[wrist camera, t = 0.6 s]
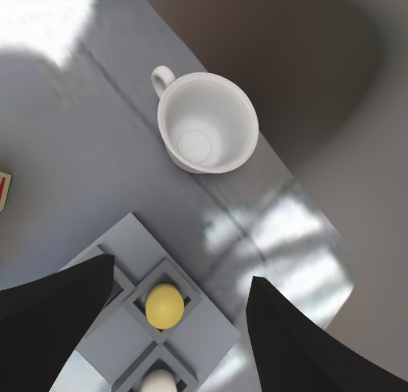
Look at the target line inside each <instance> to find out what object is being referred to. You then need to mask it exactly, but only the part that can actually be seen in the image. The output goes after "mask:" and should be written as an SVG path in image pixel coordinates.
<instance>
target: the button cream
mask: <svg viewBox="0 0 408 392" xmlns="http://www.w3.org/2000/svg"><path fill="white" fill-rule="evenodd" d="M139 392H177V388H176V384H175V380H174V377H173V375H172V374H171V373H170V372H169V371H167V370H164V369H158V370H154V371H152V372H150V373H149V374H148V375H147V376H146V377H145V378H144V379H143V380H142V382H141V384H140V387H139Z"/></svg>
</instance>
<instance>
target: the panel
mask: <svg viewBox="0 0 408 392" xmlns="http://www.w3.org/2000/svg"><path fill="white" fill-rule="evenodd" d="M100 254H110V255H115V262H114V277H113V291H112V292H111V294H110V296H109V298H108V301H107V303H106V305H105V307H104V308H103V310H102V311H101V312H100V314H99V315H98V317H97V318H96V319H95V321H94V322H93V324H92V325H91V327H90V328H89V329H88V331H87V332H86V334H85V335H84V337H83V338H82V339H81V341H80V342H79V344H78V345H77V346H76V348H75V349H76V350H77V351H78V352H79V353H80V354H81V355H82V356H83V357H84V358H85V359H86V360H87V361H88V362H89V363H90V364H91V365H92V366H93V367H94V368H95V369H96V370H97V371H98V372H99V373H100V374H101V375H102V376H103V377H104V378H105V379H106V380H107V381H108V382H109V383H110V384H111V385H112V391H111V392H139V387H140V384H141V382H142V380H143V379H144V378H145V377H146V376H147V375H148V374H149V373H150V372H152V371H154V370H158V369H164V370H167V371H169V372H170V373H171V374H172V375H173V377H174V380H175V384H176V388H177V392H197V390H198V389H199V388H200V387H201V385H202V384H203V383H204V381H205V380H206V379H207V378H208V376H209V375H210V374H211V373H212V371H213V370H214V369H215V368H216V366H217V365H218V364H219V363H220V361H221V360H222V359H223V357H224V356H225V355H226V354H227V352H228V351H229V350H230V349H231V347H232V346H233V345H234V344H235V342H236V341H237V340H238V339H239V337H240V336H241V334H240V332H239V331H238V330H237V329H236V328H235V327H234V326H233V325H232V324H231V323H230V321H229V320H228V319H227V318H226V317H225V316H224V315H223V314H222V313H221V311H220V310H219V309H218V308H217V307H216V306H215V305H214V304H213V303H212V302H211V300H210V299H209V298H208V297H207V296H206V295H205V294H204V293H203V292H202V290H201V289H200V288H199V287H198V286H197V285H196V284H195V283H194V282H193V280H192V279H191V278H190V277H189V276H188V275H187V274H186V273H185V272H184V271H183V269H182V268H181V267H180V266H179V265H178V264H177V263H176V262H175V261H174V259H173V258H172V257H171V256H170V255H169V254H168V253H167V252H166V251H165V249H164V248H163V247H162V246H161V245H160V244H159V243H158V242H157V241H156V240H155V238H154V237H153V236H152V235H151V234H150V233H149V232H148V231H147V230H146V228H145V227H144V226H143V225H142V224H141V223H140V222H139V221H138V220H137V219H136V217H135V216H134V215H133V214H132V213H131V212H130V213H129V214H127V215H126V216H125V217H124V218H122V219H121V220H120V221H119V222H118V223H116V224H115V225H114V226H113V227H111V228H110V229H109V230H108V231H107V232H105V233H104V234H103V235H102V236H101V237H99V238H98V239H97V240H96V241H94V242H93V243H92V244H91V245H90V246H88V247H87V248H86V249H85V250H83V251H82V252H81V253H80V254H79V255H77V256H76V257H75V258H74V259H72V260H71V261H70V262H69V263H68V264H66V265H65V266H64V267H63V268H61V269H60V270H59V271H62V270H65V269H67V268H69V267H72V266H74V265H76V264H79V263H81V262H83V261H86V260H88V259H90V258H93V257H95V256H98V255H100ZM59 271H58V272H59ZM161 283H168V284H171V285H173V286H174V287H175V288H176V289H177V290H178V292H179V294H180V295H181V297H182V299H183V302H184V311H183V314H182V317H181V318H180V320H179V321H178V322H177V323H176V324H175V325H174V326H172V327H170V328H167V329H158V328H155V327H154V326H152V325H151V324H150V323H149V321H148V319H147V316H146V307H145V301H146V297H147V294H148V293H149V291H150V290H151V289H152V288H153V287H154V286H156V285H158V284H161Z"/></svg>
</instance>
